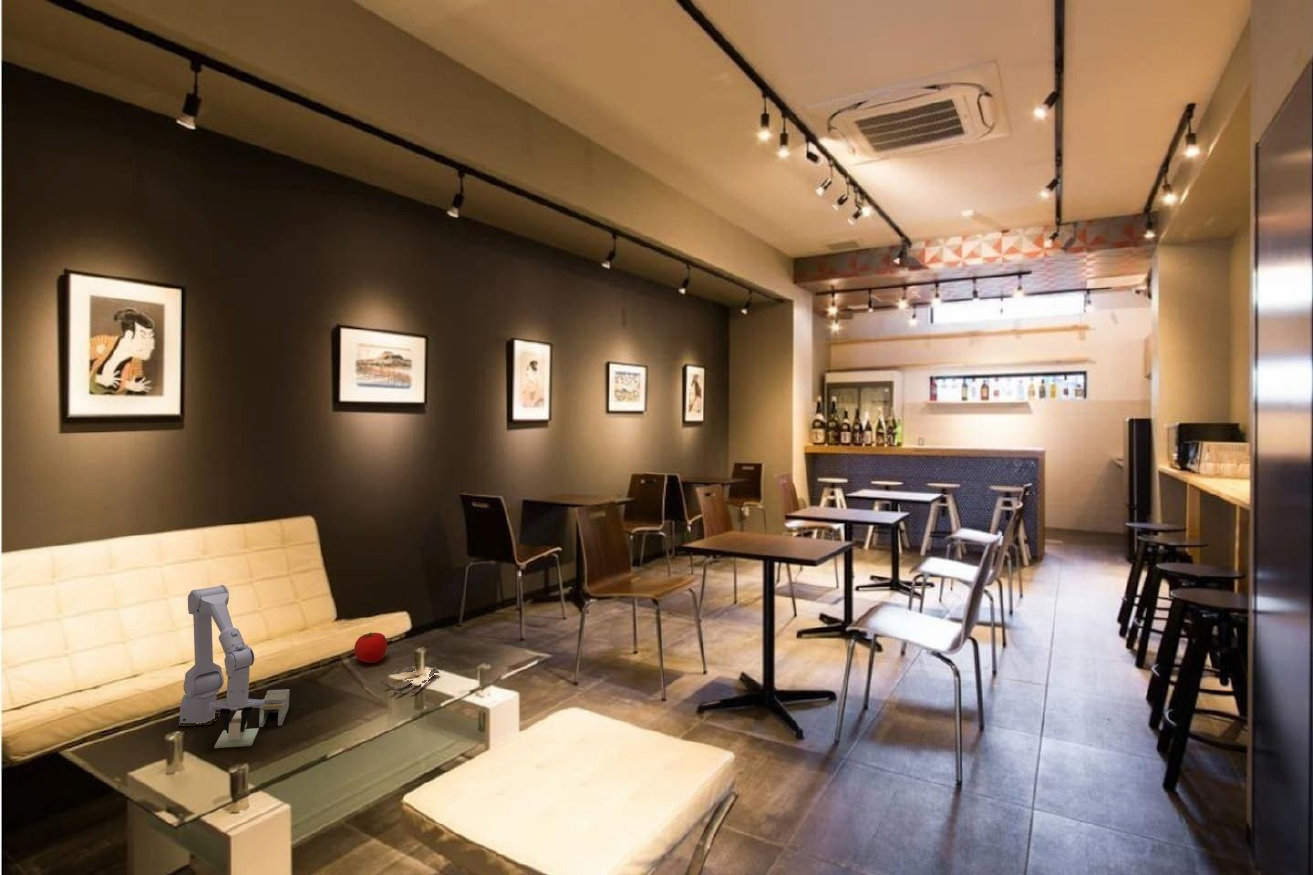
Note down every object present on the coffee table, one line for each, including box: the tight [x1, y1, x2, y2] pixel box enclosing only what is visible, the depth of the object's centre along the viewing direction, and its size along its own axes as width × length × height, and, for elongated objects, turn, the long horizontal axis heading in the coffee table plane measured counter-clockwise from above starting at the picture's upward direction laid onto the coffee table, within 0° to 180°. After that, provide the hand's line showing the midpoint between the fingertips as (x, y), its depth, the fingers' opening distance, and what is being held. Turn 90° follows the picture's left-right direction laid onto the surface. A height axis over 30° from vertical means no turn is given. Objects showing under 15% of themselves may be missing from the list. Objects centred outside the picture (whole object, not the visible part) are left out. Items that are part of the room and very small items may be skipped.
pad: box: [213, 727, 260, 749], centre depth 218 cm, size 10×10×1 cm
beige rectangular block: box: [228, 709, 248, 740], centre depth 218 cm, size 3×10×5 cm, turn 19°
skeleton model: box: [380, 666, 440, 695], centre depth 266 cm, size 24×13×5 cm, turn 170°
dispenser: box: [258, 688, 291, 728], centre depth 233 cm, size 7×12×7 cm, turn 19°
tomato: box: [353, 631, 388, 664], centre depth 285 cm, size 12×14×11 cm
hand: (235, 731), depth 216 cm, fingers closed on beige rectangular block, 3 cm apart
